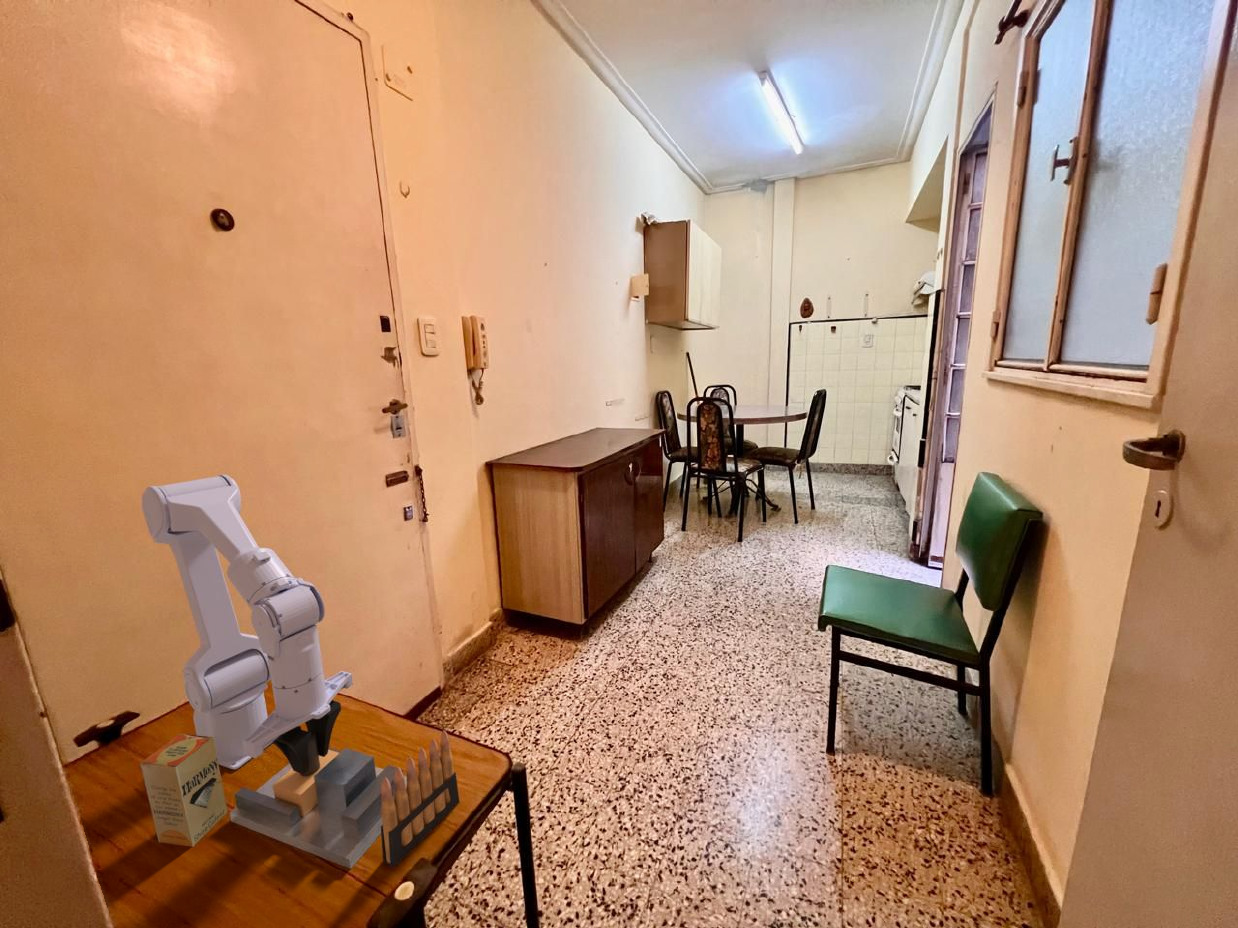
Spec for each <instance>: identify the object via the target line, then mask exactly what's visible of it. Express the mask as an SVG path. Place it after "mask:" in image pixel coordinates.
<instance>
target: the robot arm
mask: <svg viewBox="0 0 1238 928" xmlns="http://www.w3.org/2000/svg"><path fill="white" fill-rule="evenodd" d="M141 509H142V512H143V516H144V520H145V523H146V526H147V529H148V532H149V535H150V537H151V538H152V540H153V542H154V543H155V544H165V545H167V544H168V545H169V548H170V549H171V551H172V553H173V555H174V559H175V562H176V565H177V569H178V572H179V576H180V579H181V583H182V585H183V586H182V587H183V589H184V592H185V596H186V598H187V603H188V605H189V608H190V613H191V615H192V619H193V622H194V626H195V628H196V632H197V635H198V639H199V641H200V646H199V647H198V649H196V651H195V652H194V653H193V654H192V656H190V657H189V659H188V660H187V661H185V663H184V664H183V666H182V669H183V670H182V675H183V680H184V683H183V684H184V691H185V695H186V698H187V700H188V702H189V704H190V706H191V707H192V708H193V710H194V711H193V723H194V727H195V733H196V735H197V736H207V737H213V739H214V744H215V749H216V755H217V760H218V765H219V766H222V767H225V768H228V769H231V770H237V769H239V768H240V767H242V766H243V765H244V764H246V763H247V762H249V761H250V760H252V758H254V759H257V758H259V757H260V756H261V755H262V754H264V750H265V749H266V748H267V747H268V746H270V745H271V744H273V745H274V746H276V747H277V749H278V750H280V752H282V754H283V755H284V756H285V757H286V759H287V761H288V764H289V763H290V765H291V767H292V769H293V771H296V772H298V773H301V774H305V773H306V772H307V771H308V770H309V758H308V741H309V737H310V734H311V732H314V733H315V734H316V740H317V747H318V754H319V756H322V757H325V756H326V755H327V754H328V748H330V743H331V737H332V732H333V729H334V726H335V724H336V720H337V718H338V716H339V715H340V713H341V711H342V706H341V703H340V702H339V701H336V700H334V699H335V697H336V696H337V694H338V693H339V692H341V691H342V690H343V689H346V690H347V689H349V688H350V687H352V686H353V685H354V682H353V674H352V673H350V672H348V671H343V670H341V671H340V672H338V673H336V674H334V675H333V676H330V677H328V678H327V679H325V675H324V668H323V661H322V660H323V659H322V654H321V653H322V652H321V645H320V638H319V632H318V631H319V629H318V625H317V624H318V623H320V622H322V621H323V620H324V618H325V615H326V614H325V613H326V611H325V610H326V609H325V603H324V600H323V598H322V596H321V593H320V592H319V591H318V589H317V587H316V586H315V585H314V584H313V583H312V582H310V581H305V580H304V579H303V578H302V577H298V578H297V577H295V576H294V575H293V574H292V572H291V571H290V570H289V569H288V567H287V566H286V564H284V562H283V561H282V560H281V558H280V557H279V556H278V555H277V553H276V552H275V551H274V550H273V549H271V548H267V547H260V546H259V544H258V543H257V542H256V540H255V538H254V537H253V534H251V531H250V530H249V529H248V527H247V525H246V523H245V522H244V520H243V518H242V516H241V511H242V494H241V491H240V488H239V486H238V483H237V481H235V479H233V478H232V477H231V476H229V475H228V474H224V473H223V474H219V475H217V476H213V477H206V478H205V477H204V478H199V479H195V480H187V481H183V482H182V481H181V482H175V483H171V484H164V485H158V486H157V485H150V486H147V487H146V488H145V491H143V493H142V495H141ZM218 552H219V553H220V554H221V555H222V556H223V558H224V559H226V561H227V562H228V563H229V566H228V567H227V571H226V576H227V578H228V579H229V581H230V582H231V584H232V585H233V586H234V588H235V590H236V591H237V592H238V593H239V594H240V596H241V598H242V599H243V601H245V603H246V604H247V606H248V607H249V608H250V610H251V616H250V619H251V623H252V627H253V629H254V631H255V633H256V635H253V634H248V633H242V632H241V629H240V626H239V622H238V619H237V616H236V612H235V608H234V605H233V602H232V599H231V596H230V592H229V589H228V584H227V581H226V578H225V576H224V575H225V574H224V571H223V569H222V565H221V561H220V558H219V554H218ZM269 681H271V688H272V693H273V700H274V705H275V709H274V710H272V712H271V713H270V714H269V715H268V710H267V706H266V699H265V694H264V691H265V690H267V689H268V682H269ZM302 724H305V726H306V730H304V729H302V727H301V725H302Z"/></svg>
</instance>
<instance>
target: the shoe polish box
mask: <svg viewBox="0 0 1238 928" xmlns="http://www.w3.org/2000/svg"><path fill="white" fill-rule="evenodd" d="M139 765H140V769H141V772H142V777H143V780H144V784H145V786H144V787H145V789H146V794H147V797H148V802H149V807H150V812H151V815H152V816H151V817H152V820H153V824H154V828H155V831H156V833H155V834H156V836H157V837H156V838H157V840H158V843H159V844H162V843H163V844H166V845H167V844H168V845H169V844H170V845H174V846H185V847H191V848H192V847H194V846H195V845H196V844H198V842H200V841H201V839H202V838H203V837H204V836H205V835H206V834H207V833H209V831H211V829H212V828H213V827H215V825H216V824H217V823H218V822H219V821H220V820H222V818H223V817H224V816H226V815H227V814H228V812H229V811H228V805H227V802H226V795H225V791H224V786H223V781H222V780H223V779H222V776H221V771H220V765H219V764H218V760H217V755H216V749H215V744H214V739H213V737H207V736H197V734H186V733H179V734H178V735H176V736H175V737H174V738H172V739H171V740H170V741H168V742H167V743H165V744H164V745H163V746H162V747H160V748H159V749H158V750H156V751H155V752H153V753H152V754H150V755H149V756H148V757H147V758H145V759H144V760H142V762H140V763H139Z"/></svg>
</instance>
